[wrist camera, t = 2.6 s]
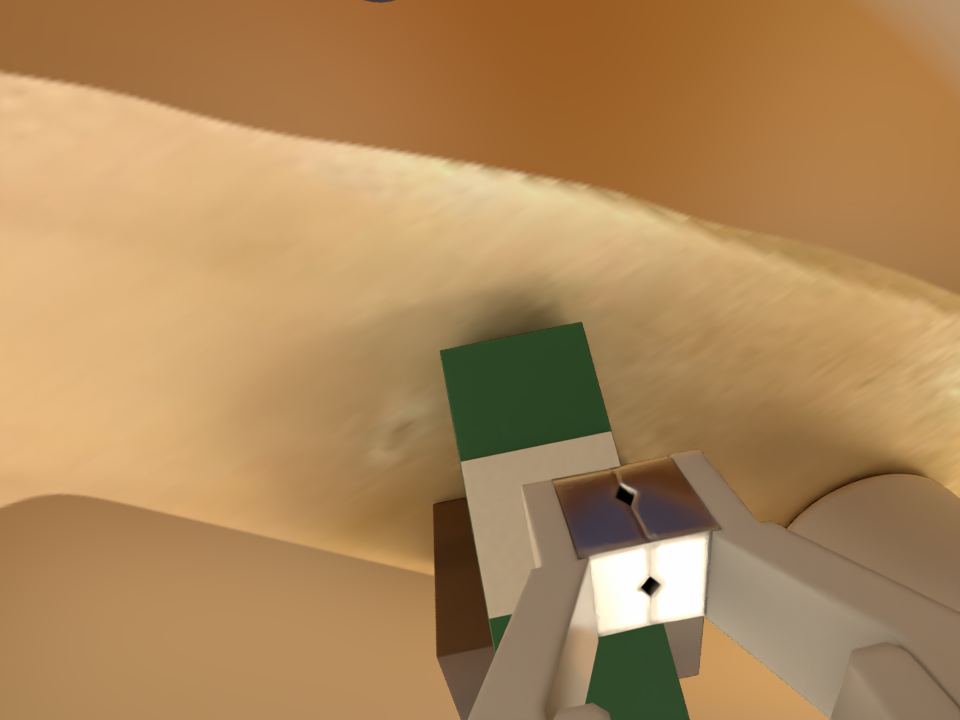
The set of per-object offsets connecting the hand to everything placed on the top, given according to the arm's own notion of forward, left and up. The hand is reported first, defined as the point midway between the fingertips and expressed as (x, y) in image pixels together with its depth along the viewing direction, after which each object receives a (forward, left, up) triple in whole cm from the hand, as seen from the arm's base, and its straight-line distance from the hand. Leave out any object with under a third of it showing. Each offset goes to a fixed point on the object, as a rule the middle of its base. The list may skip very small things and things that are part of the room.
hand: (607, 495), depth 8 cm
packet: (+10, 0, -9) cm, 14 cm away
